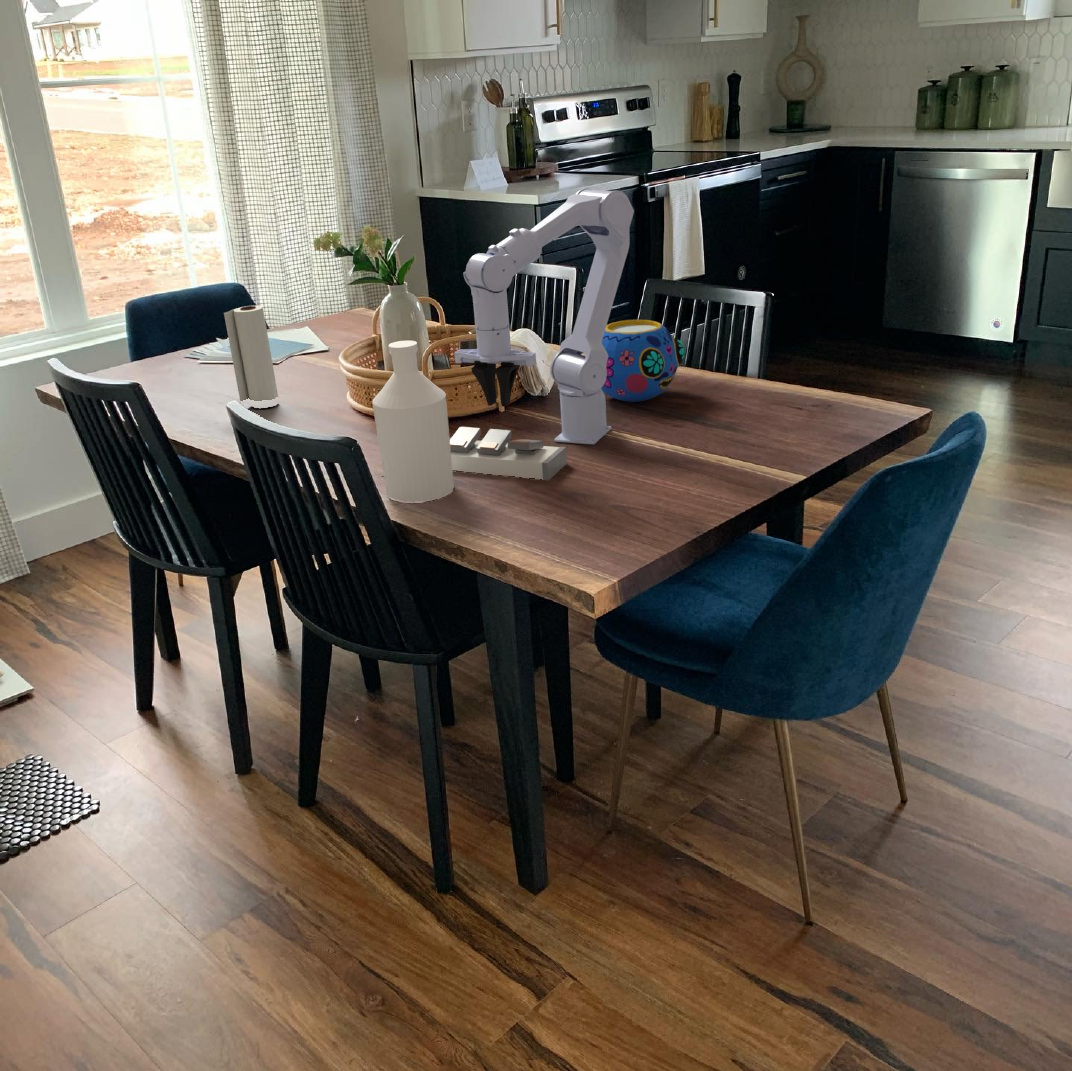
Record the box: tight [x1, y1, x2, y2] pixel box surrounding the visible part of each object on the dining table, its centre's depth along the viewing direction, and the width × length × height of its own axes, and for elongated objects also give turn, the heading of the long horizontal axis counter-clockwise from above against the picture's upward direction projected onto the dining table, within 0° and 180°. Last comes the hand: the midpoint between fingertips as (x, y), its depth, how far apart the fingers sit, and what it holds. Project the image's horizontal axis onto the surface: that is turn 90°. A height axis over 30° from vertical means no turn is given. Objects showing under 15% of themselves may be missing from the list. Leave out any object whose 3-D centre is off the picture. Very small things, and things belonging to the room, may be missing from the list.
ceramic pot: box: [601, 319, 686, 403], centre depth 215 cm, size 18×18×15 cm
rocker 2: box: [476, 428, 513, 456], centre depth 185 cm, size 6×4×1 cm, turn 156°
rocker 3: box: [508, 438, 544, 450], centre depth 183 cm, size 6×4×1 cm, turn 156°
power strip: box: [449, 437, 568, 481], centre depth 188 cm, size 8×29×4 cm, turn 66°
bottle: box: [371, 340, 455, 502], centre depth 174 cm, size 12×12×25 cm
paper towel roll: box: [223, 305, 279, 402], centre depth 227 cm, size 7×6×21 cm
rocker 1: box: [450, 426, 482, 453], centre depth 188 cm, size 6×4×1 cm, turn 156°
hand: (499, 404), depth 186 cm, fingers closed
